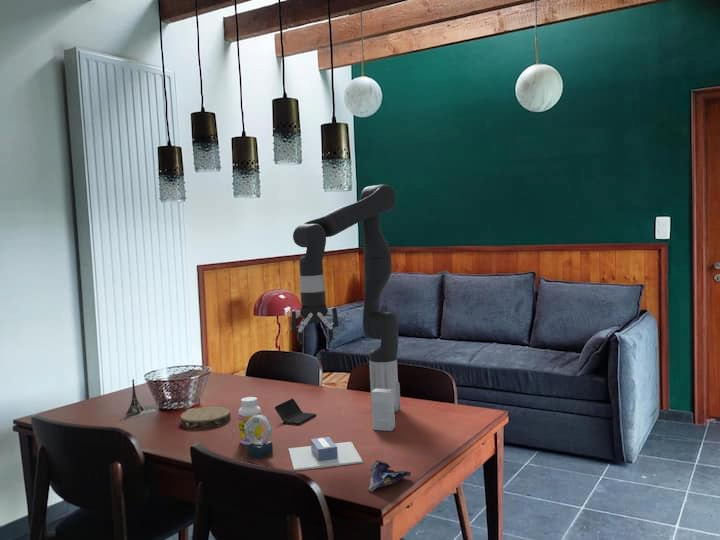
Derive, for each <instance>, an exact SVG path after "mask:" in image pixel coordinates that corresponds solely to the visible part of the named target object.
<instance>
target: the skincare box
mask: <svg viewBox="0 0 720 540" xmlns="http://www.w3.org/2000/svg"><path fill="white" fill-rule="evenodd" d="M371 399H372V410H371V414H372V415H371V417H372V430H373V431H387V432H392V431H393V430H394V429H395V427H396V422H395V421H396V419H395V412H394V396H393V389H376V388H375V389H374V390H373V391H371V390H370V400H371Z"/></svg>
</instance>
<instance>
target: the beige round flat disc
mask: <svg viewBox="0 0 720 540" xmlns="http://www.w3.org/2000/svg"><path fill="white" fill-rule="evenodd" d="M230 418H231V410H230V408H227V407H226V406H204V407H203V406H202V407H197V408H193V409H189V410H187V411H186V410H185V411H184V412H183V413H181V414H180V425H181V426H182V427H184V428H186V429H190V428H204V429H210V428H209V427H212V428H216V427H219V426H218V425H220V426H223V425H225V424H224V423H226V424H227V423H229V422H230V421H231V419H230ZM228 421H229V422H228ZM222 424H223V425H222ZM215 426H216V427H215Z"/></svg>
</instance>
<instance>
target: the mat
mask: <svg viewBox="0 0 720 540" xmlns="http://www.w3.org/2000/svg"><path fill="white" fill-rule="evenodd" d="M335 445H336V446H337V452H338V459H332V460H325V461H318V460H317V458H316V457H315V455H314V454H313V452H312V451H311V445H308V446H301V447H300V446H299V447H291V448H290V447H289V448H288V449H287V450H288V454H289V458H290V461H291V465H292V468H293V471H294V472H296V471H304V470H305V471H306V470H314V469H322V468H329V467H338V466H349V465H355V464H356V465H357V464H363V460H362V459H363V458H362V457H361V456H360V454H359V452H358V451H357V449H356V448H355V446H354V444H353V442H352V441H346V442H338V443H335Z"/></svg>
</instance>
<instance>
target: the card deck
mask: <svg viewBox="0 0 720 540" xmlns="http://www.w3.org/2000/svg"><path fill="white" fill-rule="evenodd" d="M310 446H311V451H312V452H313V454H314V455H315V457H316V458H317V460H318V461H325V460H332V459H338V452H337V446H336V445H335V443H334V441H333V440H332V438H331V437H330V436H324V437H316V438H310Z"/></svg>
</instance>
